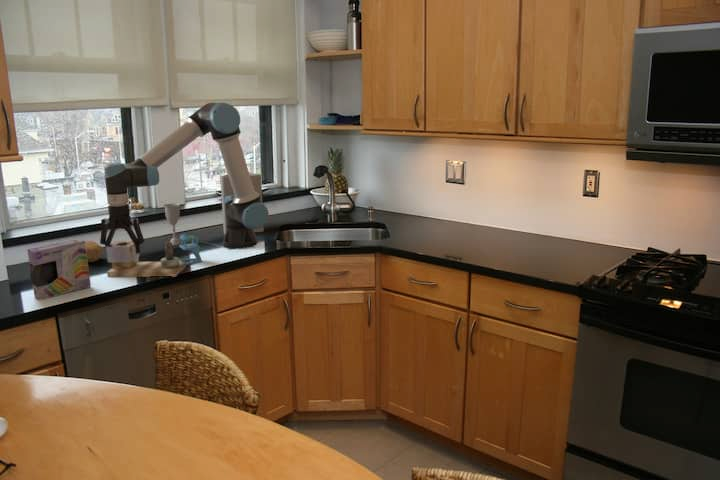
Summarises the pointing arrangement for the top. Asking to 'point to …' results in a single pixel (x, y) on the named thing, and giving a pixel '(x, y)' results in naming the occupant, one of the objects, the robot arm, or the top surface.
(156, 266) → the board
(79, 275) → the cake pan box
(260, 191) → the cream rectangular carton
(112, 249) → the collar
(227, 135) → the robot arm
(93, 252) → the potato
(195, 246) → the chair
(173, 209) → the chalice
